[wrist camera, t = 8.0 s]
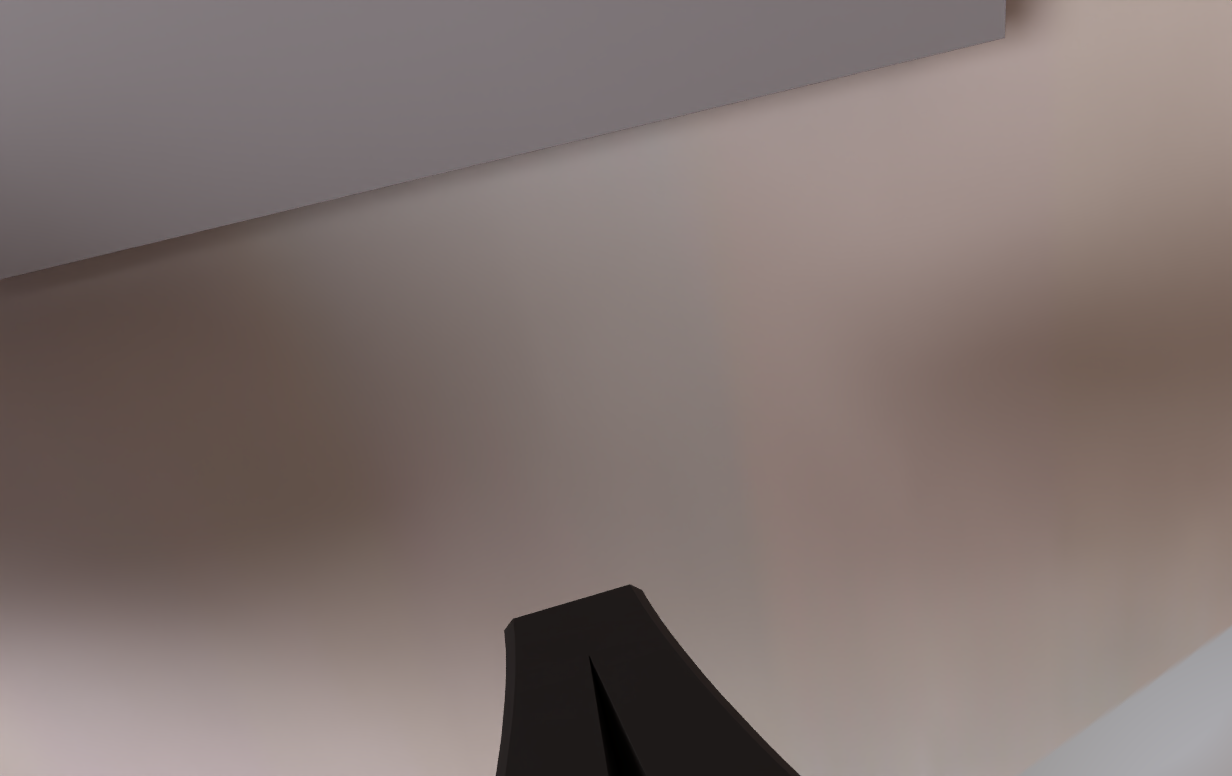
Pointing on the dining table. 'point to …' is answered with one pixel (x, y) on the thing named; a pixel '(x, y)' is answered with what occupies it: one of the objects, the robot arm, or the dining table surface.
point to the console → (375, 94)
